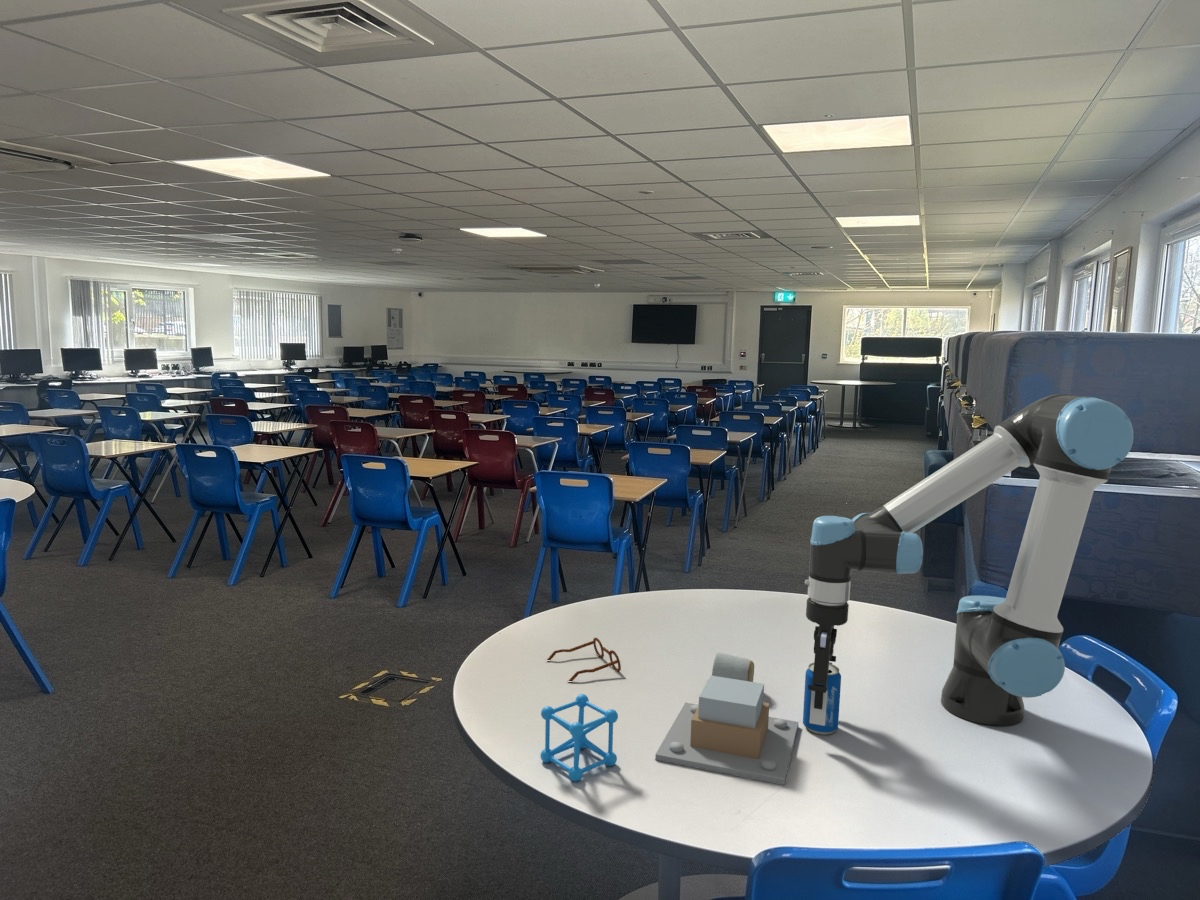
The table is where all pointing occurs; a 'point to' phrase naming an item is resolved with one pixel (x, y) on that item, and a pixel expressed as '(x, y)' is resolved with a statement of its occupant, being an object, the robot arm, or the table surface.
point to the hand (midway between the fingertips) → (820, 708)
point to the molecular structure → (578, 736)
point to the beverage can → (832, 701)
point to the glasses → (596, 653)
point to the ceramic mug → (733, 667)
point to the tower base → (729, 761)
